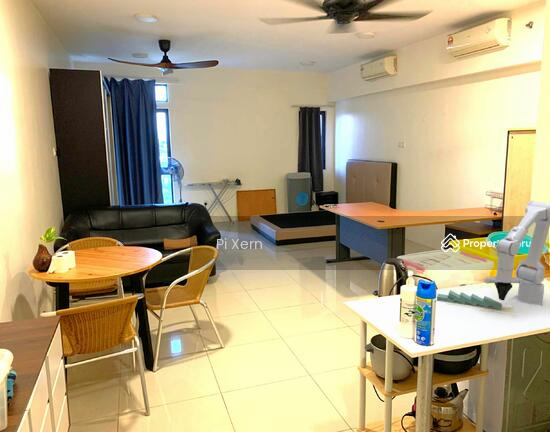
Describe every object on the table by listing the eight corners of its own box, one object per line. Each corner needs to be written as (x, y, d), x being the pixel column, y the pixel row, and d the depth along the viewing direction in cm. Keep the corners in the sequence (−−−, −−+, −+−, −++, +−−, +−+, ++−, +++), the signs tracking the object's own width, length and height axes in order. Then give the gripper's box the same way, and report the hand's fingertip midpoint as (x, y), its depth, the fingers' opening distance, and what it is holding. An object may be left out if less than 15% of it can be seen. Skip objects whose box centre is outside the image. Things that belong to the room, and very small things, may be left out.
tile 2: (488, 301, 178) (472, 293, 181) (488, 305, 175) (472, 296, 177) (486, 304, 179) (470, 296, 181) (487, 308, 175) (470, 299, 178)
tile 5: (454, 296, 184) (437, 293, 187) (454, 299, 181) (437, 296, 183) (454, 299, 184) (437, 297, 187) (454, 302, 181) (436, 300, 184)
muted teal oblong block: (465, 298, 182) (450, 290, 184) (465, 301, 179) (449, 293, 181) (464, 301, 183) (448, 293, 185) (463, 304, 179) (448, 296, 181)
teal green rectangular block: (501, 303, 176) (484, 295, 179) (502, 307, 173) (484, 299, 175) (499, 306, 177) (483, 298, 179) (500, 310, 173) (483, 302, 176)
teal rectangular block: (477, 299, 180) (461, 291, 183) (477, 303, 177) (461, 295, 179) (475, 302, 181) (459, 294, 183) (475, 306, 177) (459, 298, 180)
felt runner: (513, 307, 177) (513, 306, 177) (514, 315, 169) (514, 314, 169) (447, 297, 188) (447, 296, 188) (446, 304, 180) (446, 303, 180)
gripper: (517, 265, 175) (513, 295, 178) (482, 265, 176) (479, 295, 178) (527, 270, 169) (523, 302, 171) (491, 270, 169) (487, 302, 171)
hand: (501, 299), depth 174 cm, fingers closed
